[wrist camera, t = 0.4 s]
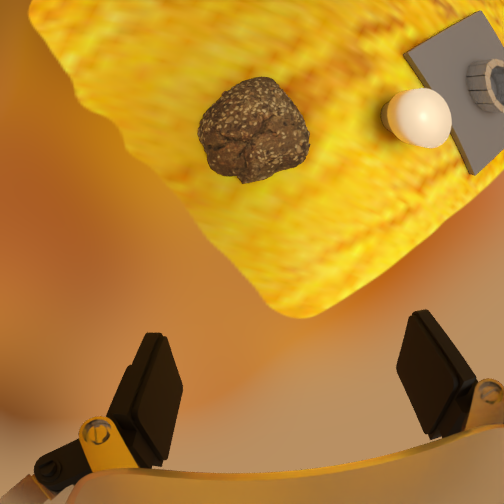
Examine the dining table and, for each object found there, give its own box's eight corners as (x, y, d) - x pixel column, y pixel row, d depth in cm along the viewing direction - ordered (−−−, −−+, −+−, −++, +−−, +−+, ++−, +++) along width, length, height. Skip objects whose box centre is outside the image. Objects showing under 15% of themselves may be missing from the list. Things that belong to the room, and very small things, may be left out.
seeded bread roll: (274, 68, 32) (277, 59, 27) (319, 154, 36) (329, 159, 31) (182, 115, 34) (171, 114, 30) (229, 199, 38) (225, 209, 34)
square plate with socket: (402, 54, 30) (424, 46, 24) (475, 12, 24) (497, 5, 19) (469, 173, 36) (493, 182, 30) (529, 116, 30) (551, 119, 25)
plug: (376, 86, 32) (406, 79, 24) (419, 101, 32) (454, 100, 24) (369, 134, 34) (398, 138, 27) (412, 147, 35) (446, 155, 27)
